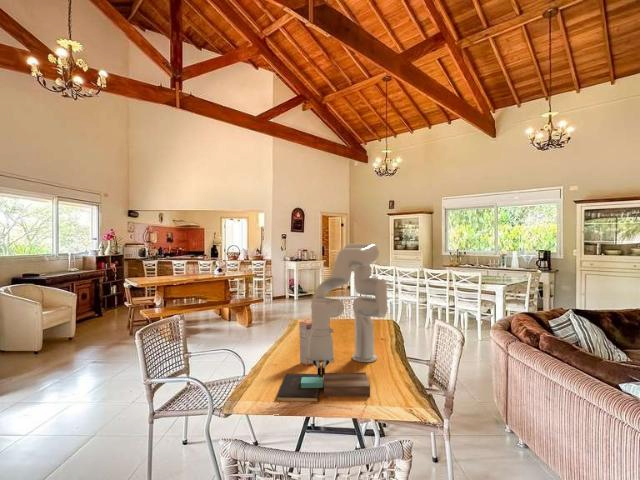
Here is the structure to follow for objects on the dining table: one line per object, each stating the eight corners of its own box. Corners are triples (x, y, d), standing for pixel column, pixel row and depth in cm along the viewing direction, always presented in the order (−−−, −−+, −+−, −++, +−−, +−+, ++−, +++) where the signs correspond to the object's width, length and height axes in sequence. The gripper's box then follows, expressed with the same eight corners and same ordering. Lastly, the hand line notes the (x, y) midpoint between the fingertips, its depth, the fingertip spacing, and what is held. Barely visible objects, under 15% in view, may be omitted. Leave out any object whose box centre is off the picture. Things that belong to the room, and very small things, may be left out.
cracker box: (319, 356, 185) (319, 316, 185) (327, 359, 180) (327, 318, 180) (299, 363, 175) (298, 321, 175) (307, 366, 171) (307, 323, 170)
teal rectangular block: (302, 381, 148) (301, 377, 148) (323, 381, 148) (323, 377, 148) (300, 387, 142) (300, 383, 142) (323, 387, 142) (323, 382, 142)
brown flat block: (323, 382, 152) (323, 372, 152) (365, 381, 152) (365, 372, 151) (324, 396, 138) (323, 386, 138) (370, 396, 138) (370, 386, 137)
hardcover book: (276, 402, 135) (276, 396, 135) (286, 378, 158) (286, 373, 158) (318, 403, 134) (318, 397, 134) (321, 379, 157) (321, 373, 157)
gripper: (338, 329, 148) (338, 373, 148) (303, 329, 148) (303, 373, 148) (339, 334, 141) (339, 380, 141) (302, 334, 141) (302, 380, 141)
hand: (321, 376), depth 145 cm, fingers closed
